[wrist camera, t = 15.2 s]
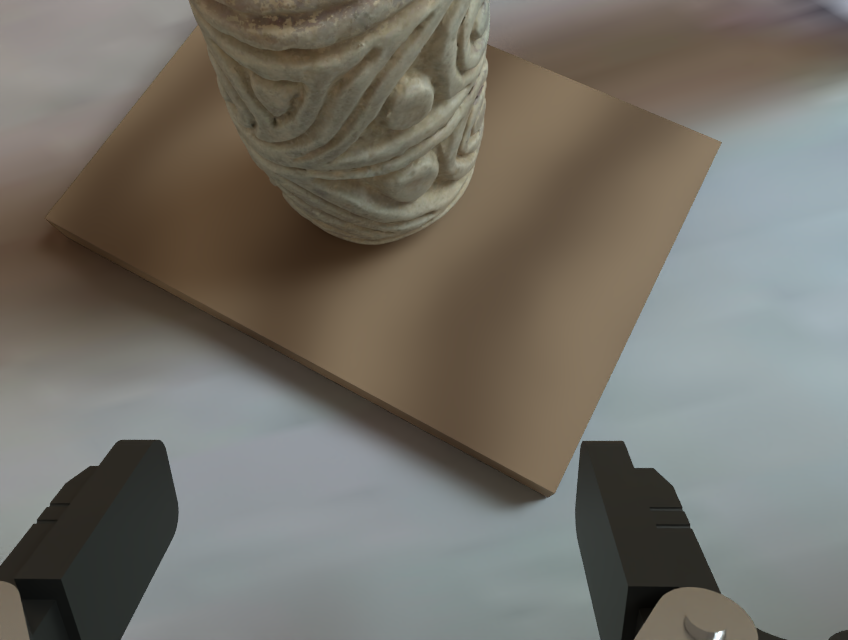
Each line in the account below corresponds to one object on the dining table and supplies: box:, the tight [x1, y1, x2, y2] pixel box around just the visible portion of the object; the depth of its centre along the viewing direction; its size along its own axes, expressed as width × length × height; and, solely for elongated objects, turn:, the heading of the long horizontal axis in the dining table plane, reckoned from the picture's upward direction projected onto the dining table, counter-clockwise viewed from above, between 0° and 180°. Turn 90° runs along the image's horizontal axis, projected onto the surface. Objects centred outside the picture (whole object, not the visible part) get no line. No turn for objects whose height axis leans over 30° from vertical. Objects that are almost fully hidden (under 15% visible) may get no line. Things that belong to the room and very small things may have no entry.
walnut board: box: [45, 25, 722, 497], centre depth 26 cm, size 20×14×2 cm
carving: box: [189, 0, 490, 245], centre depth 19 cm, size 6×8×12 cm
